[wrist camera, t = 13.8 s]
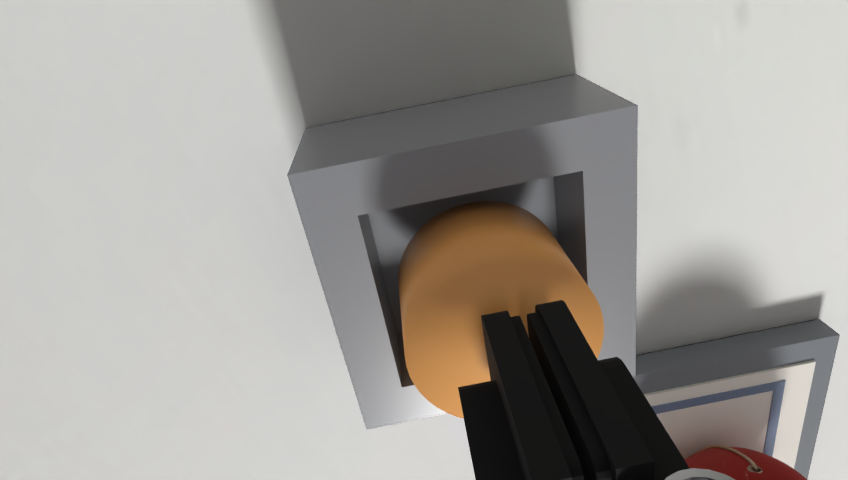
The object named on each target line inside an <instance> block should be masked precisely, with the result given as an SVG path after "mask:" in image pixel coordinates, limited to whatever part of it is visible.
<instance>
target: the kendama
mask: <svg viewBox="0 0 848 480" xmlns="http://www.w3.org/2000/svg"><path fill="white" fill-rule="evenodd" d="M684 460H685V461H686V463H687V465H688V466H689V468H690V469H691V468H697V469H709V470H713V471H716V472H719V473H722V474H726V475H728V476H729V477H731V478H733V479H735V480H807V479H806V478H805V477H804V476H803V475H801V474H800V473H799V472H798V471H796V470H795V469H793V468H792V467H790V466H789V465H787V464H785V463H784V462H782V461H780V460H778V459H776V458H773V457H771V456H769V455H766V454H764V453H761V452H758V451H754V450H751V449H747V448H740V447H727V446H721V445H710V446H707V447H705V448H703V449H701V450H699V451H698V452H696V453H695V454H693V455H691V456H689V457H688V458H686V459H684Z"/></svg>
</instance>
